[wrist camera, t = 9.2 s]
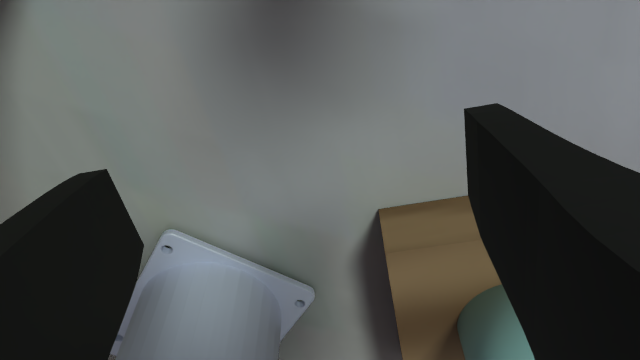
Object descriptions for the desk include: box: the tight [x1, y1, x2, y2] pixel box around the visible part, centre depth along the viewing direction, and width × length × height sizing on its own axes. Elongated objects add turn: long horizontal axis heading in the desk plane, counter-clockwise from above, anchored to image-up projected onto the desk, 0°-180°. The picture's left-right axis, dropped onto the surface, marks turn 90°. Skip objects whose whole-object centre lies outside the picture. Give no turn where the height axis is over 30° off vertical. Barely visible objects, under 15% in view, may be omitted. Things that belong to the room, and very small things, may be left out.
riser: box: [379, 196, 502, 360], centre depth 25 cm, size 10×10×3 cm
